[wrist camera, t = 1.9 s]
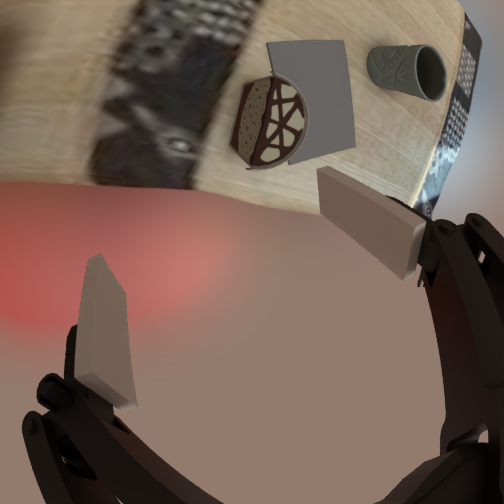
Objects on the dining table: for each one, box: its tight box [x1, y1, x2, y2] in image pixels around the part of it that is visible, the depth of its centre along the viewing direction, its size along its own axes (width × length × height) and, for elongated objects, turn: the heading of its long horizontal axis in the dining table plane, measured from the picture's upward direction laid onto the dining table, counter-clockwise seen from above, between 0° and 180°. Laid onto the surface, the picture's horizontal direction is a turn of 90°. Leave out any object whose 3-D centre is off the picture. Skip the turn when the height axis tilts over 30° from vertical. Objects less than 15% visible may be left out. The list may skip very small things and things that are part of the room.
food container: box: [229, 71, 309, 171], centre depth 32 cm, size 12×6×10 cm, turn 166°
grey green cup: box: [367, 45, 447, 102], centre depth 32 cm, size 10×10×12 cm
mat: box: [266, 40, 356, 165], centre depth 37 cm, size 14×20×1 cm
